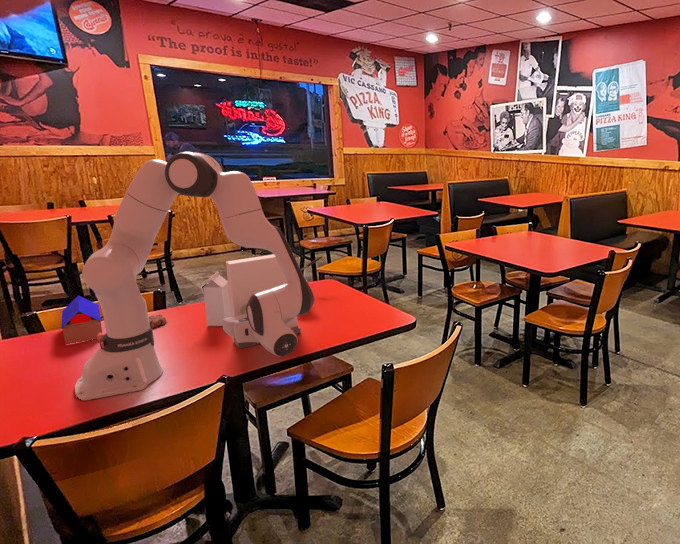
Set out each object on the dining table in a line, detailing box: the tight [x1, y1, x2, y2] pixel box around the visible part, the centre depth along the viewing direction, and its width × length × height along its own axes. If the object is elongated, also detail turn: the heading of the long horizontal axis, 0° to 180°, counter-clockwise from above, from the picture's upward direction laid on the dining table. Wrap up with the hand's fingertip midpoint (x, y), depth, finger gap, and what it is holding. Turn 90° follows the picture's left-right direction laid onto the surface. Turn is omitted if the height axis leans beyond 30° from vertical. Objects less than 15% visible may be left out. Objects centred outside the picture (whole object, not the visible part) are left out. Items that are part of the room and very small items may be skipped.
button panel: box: [225, 253, 302, 350], centre depth 147 cm, size 22×6×28 cm, turn 120°
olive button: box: [241, 305, 247, 314], centre depth 142 cm, size 4×3×4 cm, turn 121°
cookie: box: [148, 314, 168, 329], centre depth 165 cm, size 10×11×3 cm
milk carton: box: [202, 271, 231, 327], centre depth 162 cm, size 7×7×19 cm
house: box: [60, 295, 104, 345], centre depth 158 cm, size 12×20×12 cm, turn 30°
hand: (248, 312), depth 141 cm, fingers closed, pressing on olive button
